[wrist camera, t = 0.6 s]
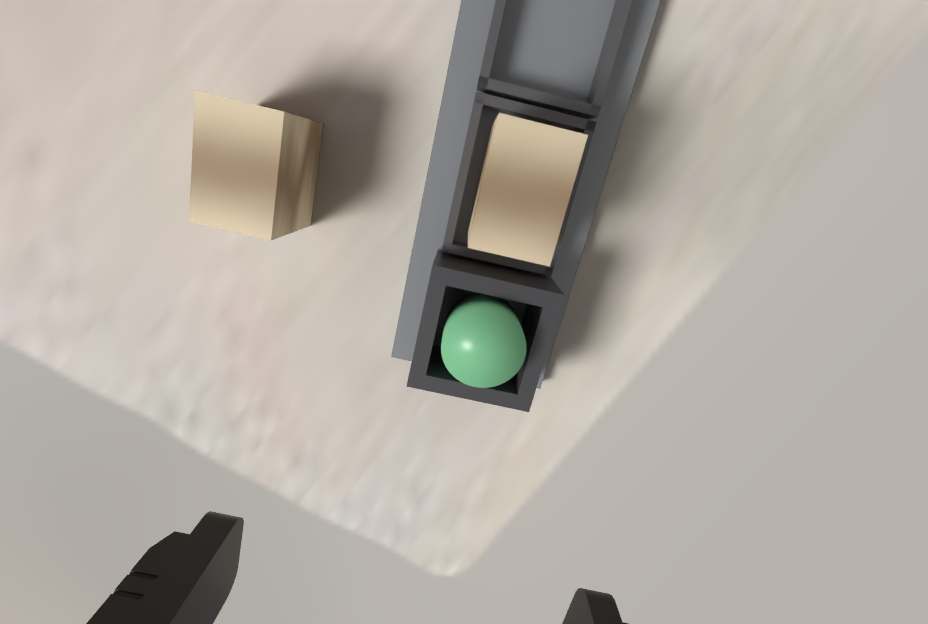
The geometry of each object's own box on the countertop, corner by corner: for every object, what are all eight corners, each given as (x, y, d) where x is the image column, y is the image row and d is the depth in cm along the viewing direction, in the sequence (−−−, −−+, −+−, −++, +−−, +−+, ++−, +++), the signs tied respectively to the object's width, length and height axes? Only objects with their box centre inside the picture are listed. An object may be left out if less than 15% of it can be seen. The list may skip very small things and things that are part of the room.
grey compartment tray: (481, -94, 23) (485, -169, 18) (667, -42, 24) (723, -101, 19) (393, 351, 31) (378, 388, 25) (538, 381, 31) (552, 424, 26)
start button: (452, 285, 26) (451, 299, 23) (528, 302, 26) (536, 318, 23) (436, 356, 27) (433, 378, 24) (509, 371, 27) (514, 395, 24)
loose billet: (254, 107, 26) (195, 90, 21) (323, 123, 27) (284, 111, 21) (245, 210, 28) (189, 222, 22) (310, 225, 28) (271, 240, 23)
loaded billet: (492, 125, 26) (499, 112, 20) (561, 142, 26) (588, 134, 20) (467, 231, 27) (467, 247, 22) (532, 246, 28) (549, 266, 22)
